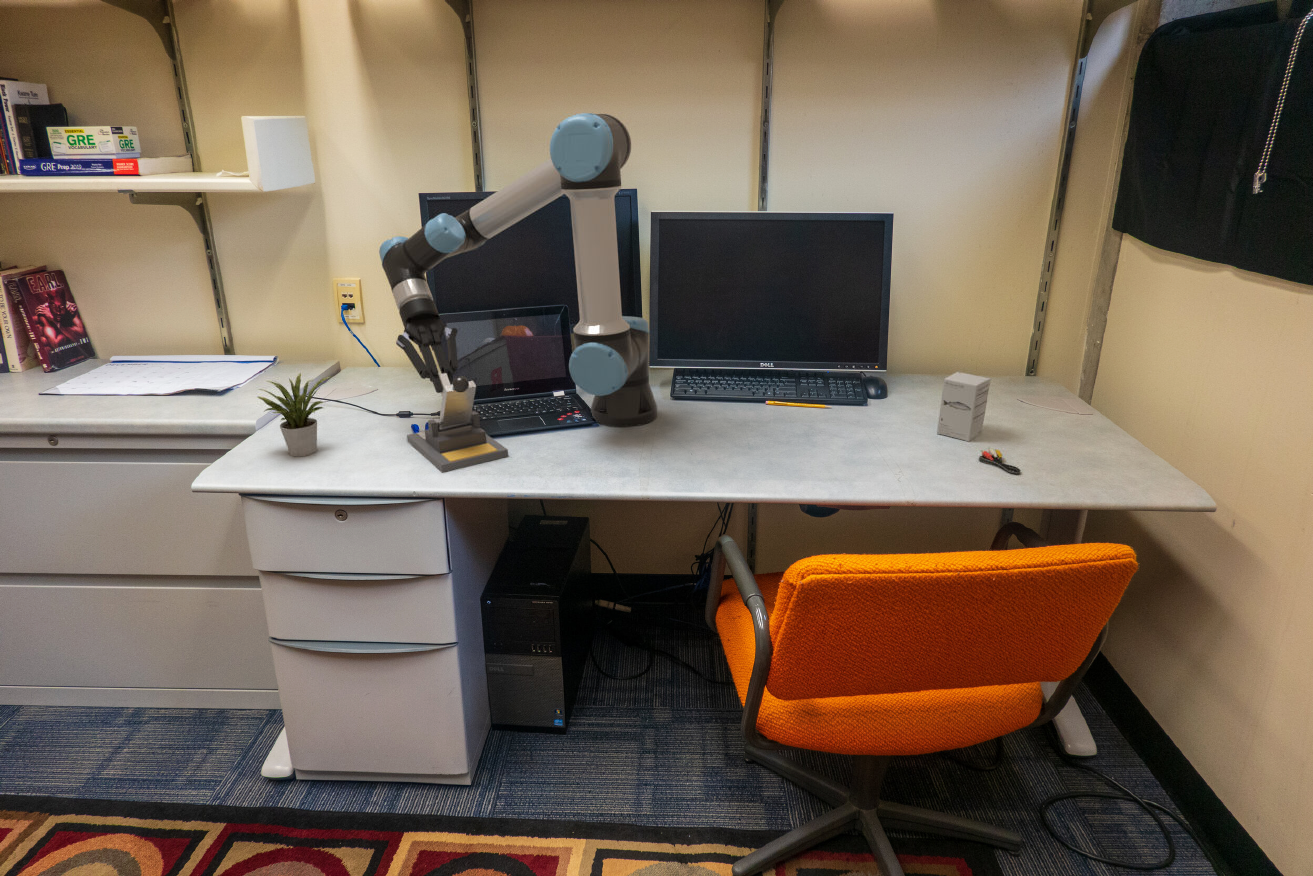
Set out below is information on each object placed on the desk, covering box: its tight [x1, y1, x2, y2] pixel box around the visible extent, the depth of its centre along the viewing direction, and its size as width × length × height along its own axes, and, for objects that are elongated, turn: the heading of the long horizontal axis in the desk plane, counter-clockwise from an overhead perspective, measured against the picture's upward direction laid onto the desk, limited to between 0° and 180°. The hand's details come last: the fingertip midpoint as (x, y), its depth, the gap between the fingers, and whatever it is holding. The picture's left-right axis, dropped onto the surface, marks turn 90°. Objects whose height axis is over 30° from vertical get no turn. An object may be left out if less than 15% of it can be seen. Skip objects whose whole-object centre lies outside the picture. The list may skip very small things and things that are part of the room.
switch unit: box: [406, 410, 509, 473], centre depth 169 cm, size 20×14×7 cm
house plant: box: [256, 372, 334, 457], centre depth 167 cm, size 14×14×16 cm
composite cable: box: [978, 446, 1021, 476], centre depth 160 cm, size 10×5×2 cm, turn 11°
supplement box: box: [936, 371, 992, 442], centre depth 175 cm, size 7×7×13 cm
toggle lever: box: [437, 375, 477, 432], centre depth 164 cm, size 3×7×14 cm
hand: (451, 404), depth 166 cm, fingers closed
